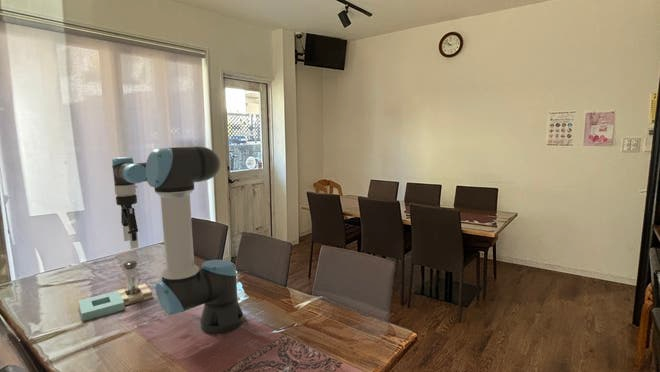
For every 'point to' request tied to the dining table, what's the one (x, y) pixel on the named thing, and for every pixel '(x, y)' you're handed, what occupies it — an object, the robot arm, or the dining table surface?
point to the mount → (136, 294)
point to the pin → (131, 277)
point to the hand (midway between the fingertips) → (131, 244)
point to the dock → (101, 305)
